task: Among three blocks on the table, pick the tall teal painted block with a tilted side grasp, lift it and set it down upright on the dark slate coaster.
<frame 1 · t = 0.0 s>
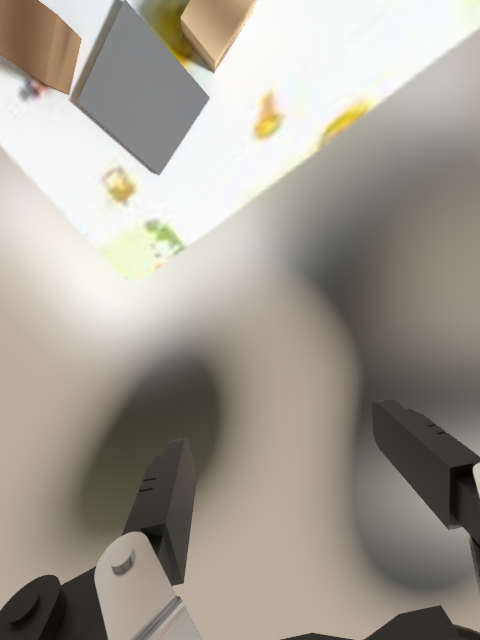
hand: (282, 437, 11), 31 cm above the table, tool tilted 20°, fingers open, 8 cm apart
oak block: (217, 25, 25), on the table
coaster: (145, 101, 27), on the table
walnut cube: (47, 48, 25), on the table
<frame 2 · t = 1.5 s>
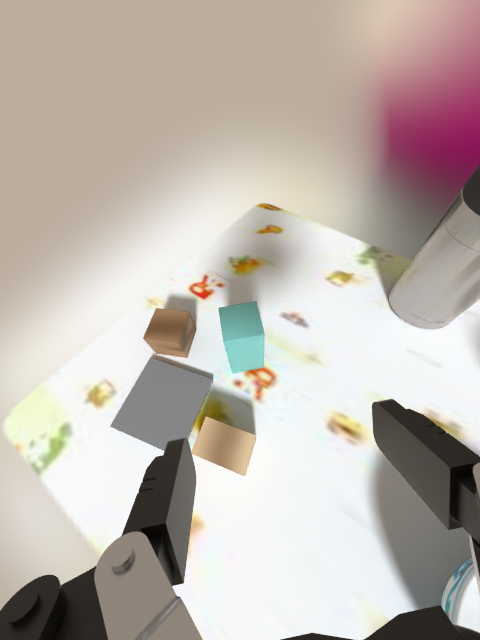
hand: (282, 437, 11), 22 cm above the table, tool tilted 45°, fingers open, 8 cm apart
oak block: (227, 447, 30), on the table
coaster: (164, 403, 34), on the table
teal block: (245, 356, 36), on the table
walnut cube: (176, 341, 39), on the table
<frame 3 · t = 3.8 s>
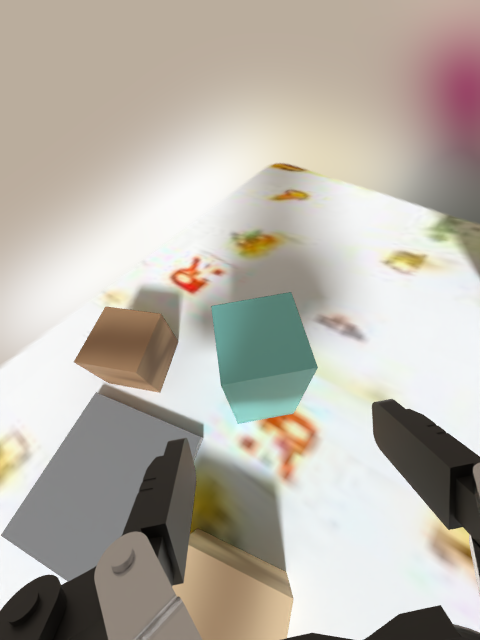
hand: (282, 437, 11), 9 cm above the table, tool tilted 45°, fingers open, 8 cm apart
oak block: (229, 590, 15), on the table
coaster: (113, 482, 18), on the table
teal block: (260, 390, 21), on the table
walnut cube: (145, 361, 23), on the table
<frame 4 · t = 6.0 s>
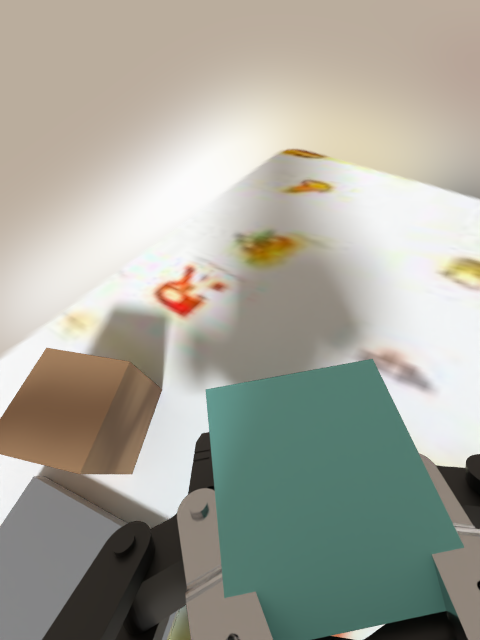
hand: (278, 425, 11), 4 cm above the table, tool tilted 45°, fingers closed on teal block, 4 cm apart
teal block: (282, 474, 14), on the table, touching gripper
walnut cube: (113, 421, 16), on the table
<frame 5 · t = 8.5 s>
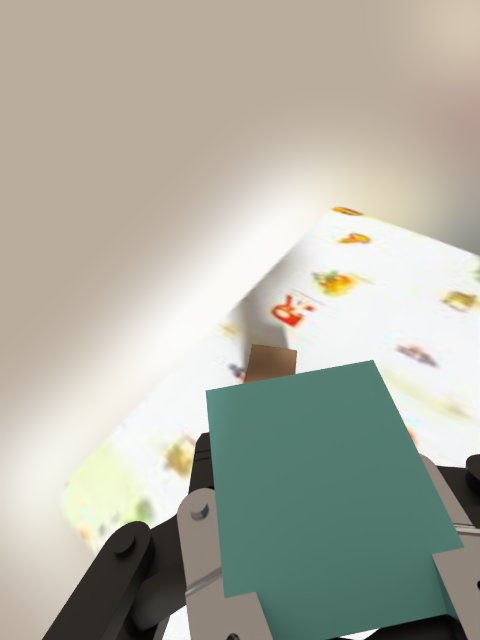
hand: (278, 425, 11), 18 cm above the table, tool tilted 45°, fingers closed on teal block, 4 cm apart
teal block: (282, 474, 14), point 14 cm above the table, touching gripper
walnut cube: (269, 382, 31), on the table
when the fingers open (6 cm above the table, at t = 11.0 s): teal block drops 1 cm, resting on coaster.
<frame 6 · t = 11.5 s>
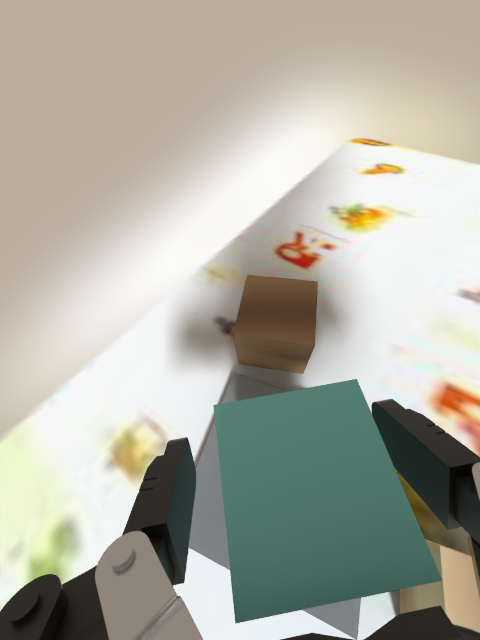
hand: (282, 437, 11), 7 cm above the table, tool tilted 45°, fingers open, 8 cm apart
oak block: (462, 601, 12), on the table
coaster: (279, 474, 16), on the table
teal block: (281, 475, 15), point 1 cm above the table, touching coaster
walnut cube: (274, 340, 21), on the table
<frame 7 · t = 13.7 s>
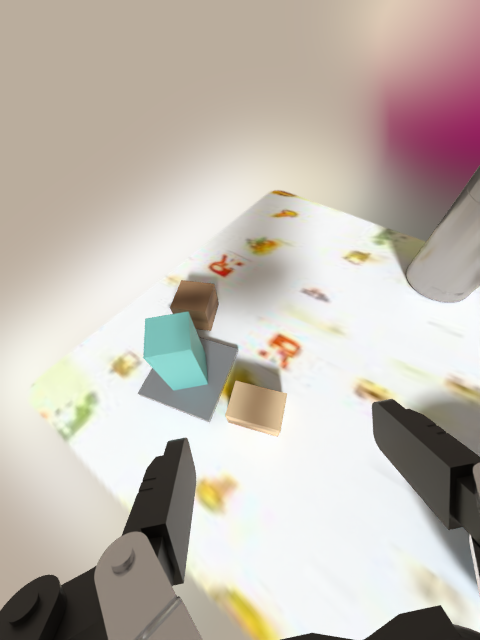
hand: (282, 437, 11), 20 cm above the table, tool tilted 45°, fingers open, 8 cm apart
oak block: (256, 412, 31), on the table
coaster: (191, 372, 34), on the table
teal block: (189, 370, 33), point 1 cm above the table, touching coaster
walnut cube: (199, 315, 39), on the table
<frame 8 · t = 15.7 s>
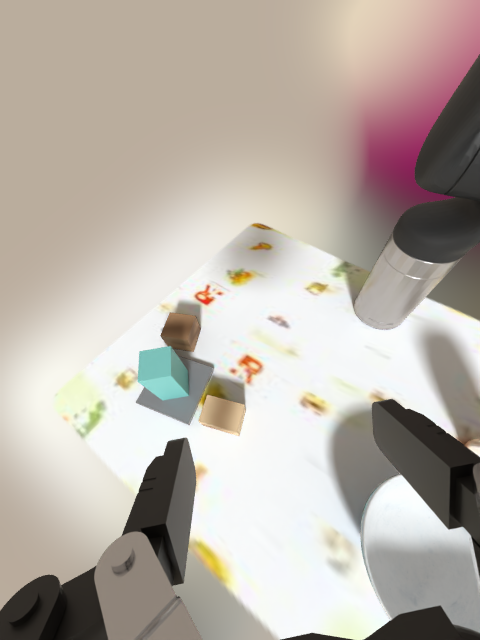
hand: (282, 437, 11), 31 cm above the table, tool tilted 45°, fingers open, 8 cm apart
chinaware: (404, 542, 31), on the table
oak block: (224, 418, 40), on the table
coaster: (176, 386, 44), on the table
teal block: (175, 385, 43), point 1 cm above the table, touching coaster
walnut cube: (185, 338, 49), on the table
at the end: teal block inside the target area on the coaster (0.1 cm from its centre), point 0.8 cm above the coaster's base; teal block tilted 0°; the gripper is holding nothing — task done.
